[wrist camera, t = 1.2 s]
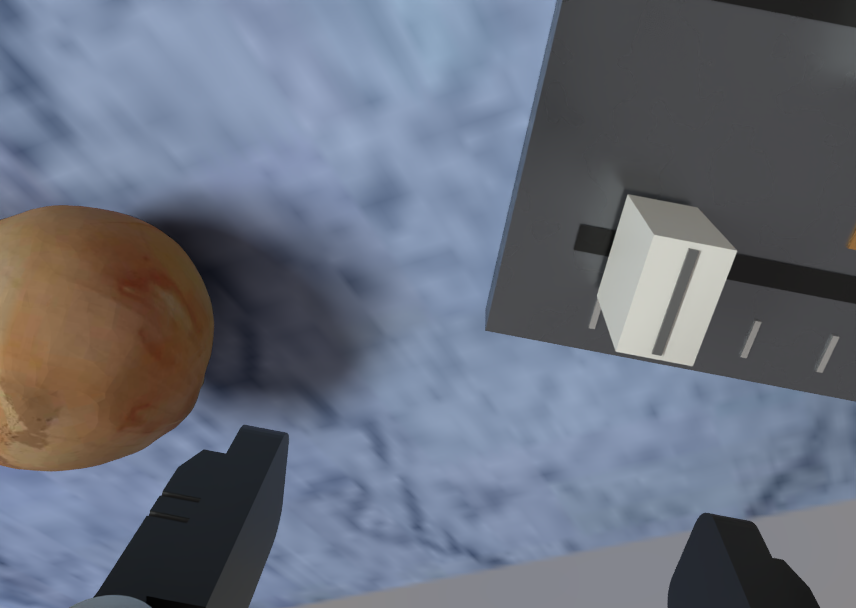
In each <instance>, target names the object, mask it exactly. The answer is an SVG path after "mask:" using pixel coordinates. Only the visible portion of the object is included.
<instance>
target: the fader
mask: <svg viewBox="0 0 856 608" xmlns="http://www.w3.org/2000/svg"><path fill="white" fill-rule="evenodd" d="M736 253H737V250H736V249H735V248H734V247H733V245H732V244H731V243H730V242H729V241H728V240H727V239H726V238H725V237H724V236H723V235H722V233H721V232H720V231H719V230H718V229H717V228H716V227H715V226H714V225H713V224H712V223H711V222H710V220H709V219H708V218H707V217H706V216H705V215H704V214H703V213H702V212H701V211H700V210H699V209H698V207H692V206H687V205H682V204H677V203H672V202H666V201H661V200H656V199H651V198H645V197H640V196H635V195H630V194H628V195H627V198H626V201H625V205H624V208H623V211H622V215H621V218H620V221H619V224H618V228H617V231H616V234H615V238H614V241H613V244H612V248H611V251H610V254H609V257H608V261H607V264H606V267H605V271H604V274H603V277H602V281H601V284H600V287H599V290H598V294H597V298H598V301H599V304H600V307H601V310H602V313H603V316H604V318H605V321H606V324H607V327H608V330H609V333H610V336H611V339H612V342H613V345H614V348H615V351H616V352H620V353H625V354H631V355H636V356H641V357H646V358H652V359H657V360H662V361H667V362H672V363H678V364H683V365H688V366H693V364H694V362H695V359H696V357H697V354H698V351H699V349H700V346H701V344H702V341H703V339H704V336H705V333H706V331H707V328H708V326H709V323H710V320H711V318H712V315H713V313H714V310H715V307H716V305H717V302H718V300H719V297H720V294H721V292H722V289H723V287H724V284H725V282H726V279H727V276H728V274H729V271H730V269H731V266H732V263H733V261H734V258H735V256H736Z"/></svg>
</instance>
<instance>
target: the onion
mask: <svg viewBox="0 0 856 608" xmlns="http://www.w3.org/2000/svg"><path fill="white" fill-rule="evenodd" d="M213 335H214V318H213V310H212V304H211V301H210V297H209V295H208V292H207V289H206V287H205V284H204V282H203V280H202V278H201V276H200V274H199V272H198V271H197V269H196V267H195V265H194V264H193V262H192V261H191V259H190V258H189V256H188V255H187V254H186V252H185V251H184V250H183V249H182V248H181V247H180V245H179V244H177V243H176V242H175V241H174V240H173V239H171V238H170V237H169V236H167V235H166V234H165V233H163V232H162V231H161V230H159V229H157V228H156V227H154V226H152V225H150V224H148V223H146V222H144V221H142V220H140V219H137V218H134V217H132V216H129V215H125V214H122V213H119V212H114V211H109V210H104V209H98V208H90V207H83V206H67V205H58V206H46V207H42V208H37V209H32V210H29V211H26V212H23V213H21V214H18V215H15V216H11V217H8V218H5V219H2V220H0V465H2V466H6V467H10V468H15V469H24V470H35V471H64V470H73V469H81V468H87V467H92V466H97V465H101V464H104V463H107V462H110V461H113V460H116V459H119V458H122V457H125V456H128V455H130V454H133V453H136V452H138V451H140V450H142V449H144V448H146V447H147V446H149V445H150V444H152V443H153V442H154V441H156V440H157V439H158V438H160V437H161V436H163V435H164V434H166V433H168V432H169V431H171V430H172V429H174V428H176V427H177V426H178V425H179V424H180V423H181V422H182V421H183V420H184V419H185V418H186V417H187V416H188V414H189V413H190V412H191V411H192V409H193V408H194V406H195V403H196V401H197V398H198V395H199V391H200V389H201V387H202V385H203V383H204V377H205V372H206V368H207V365H208V362H209V359H210V356H211V351H212V345H213Z"/></svg>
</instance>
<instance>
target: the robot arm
mask: <svg viewBox="0 0 856 608" xmlns="http://www.w3.org/2000/svg"><path fill="white" fill-rule="evenodd" d="M288 444H289V435H288V433H285V432H280V431H275V430H269V429H264V428H259V427H253V426H248V425H243V426H242V427H241V428H240V430H239V432H238V433H237V435H236V437H235V439H234V440H233V442H232V444H231V446H230V448H229V449H228V451H227V453H226V454H225V453H220V452H214V451H209V450H202V451H201V452H200V453H198V454H197V455H195V456H194V457H192V458H191V459H189V460H188V461H187V462H185V463H184V464H182V465H181V466H179V467H178V468H177V470H176V471H175V473H174V474H173V476H172V478H171V479H170V481H169V482H168V484H167V485H166V487H165V488H164V490H163V493H162V496H159V498H158V499H157V501H156V502H155V504H154V505H153V507H152V509H151V510H150V514H149V516H146V518H145V519H144V521H143V522H142V524H141V526H140V527H139V529H138V530H137V532H136V533H135V535H134V536H133V538H132V540H131V541H130V543H129V544H128V546H127V547H126V549H125V550H124V552H123V554H122V555H121V557H120V558H119V560H118V561H117V563H116V564H115V566H114V567H113V569H112V571H111V572H110V574H109V575H108V577H107V578H106V580H105V581H104V583H103V585H102V586H101V588H100V589H99V591H98V592H97V593H96V595H95V596H94V597H93V598H91V599H87V600H84V601H82V602H80V603H77V604H75V605H73V606H71V607H70V608H248V607H249V604H250V602H251V599H252V597H253V594H254V592H255V589H256V586H257V584H258V581H259V579H260V576H261V574H262V571H263V568H264V566H265V563H266V561H267V558H268V555H269V553H270V550H271V548H272V545H273V542H274V539H275V536H276V533H277V529H278V525H279V521H280V516H281V511H282V504H283V494H284V484H285V474H286V464H287V454H288ZM668 608H820V607H819V605H818V603H817V601H816V599H815V597H814V595H813V593H812V591H811V590H810V588H809V587H808V586H807V585H806V583H805V582H804V581H803V580H802V579H801V578H800V577H799V576H798V575H797V574H796V573H795V572H794V571H793V570H792V569H791V568H790V566H789V565H788V564H787V563H786V562H785V561H784V560H781V559H776V558H772V556H771V554H770V552H769V550H768V548H767V546H766V544H765V542H764V540H763V538H762V536H761V534H760V532H759V530H758V528H757V526H756V525H755V524H754V523H753V522H751V521H747V520H742V519H736V518H731V517H726V516H720V515H715V514H710V513H703V514H701V515H700V516H699V518H698V519H697V521H696V523H695V525H694V528H693V530H692V532H691V535H690V537H689V539H688V542H687V544H686V546H685V549H684V551H683V553H682V556H681V558H680V560H679V562H678V565H677V567H676V569H675V572H674V574H673V577H672V579H671V582H670V586H669V591H668Z"/></svg>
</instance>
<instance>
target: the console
mask: <svg viewBox="0 0 856 608" xmlns="http://www.w3.org/2000/svg"><path fill="white" fill-rule="evenodd" d="M628 194H630V195H635V196H640V197H645V198H651V199H656V200H661V201H666V202H672V203H677V204H682V205H687V206H692V207H698V209H699V210H700V211H701V212H702V213H703V214H704V215H705V216H706V217H707V218H708V219H709V220H710V222H711V223H712V224H713V225H714V226H715V227H716V228H717V229H718V230H719V231H720V232H721V233H722V235H723V236H724V237H725V238H726V239H727V240H728V241H729V242H730V243H731V244H732V245H733V247H734V248H735V249H736V250H737V253H736V256H735V258H734V261H733V263H732V266H731V269H730V271H729V274H728V276H727V279H726V282H725V284H724V287H723V289H722V292H721V294H720V297H719V300H718V302H717V305H716V307H715V310H714V313H713V315H712V318H711V320H710V323H709V326H708V328H707V331H706V333H705V336H704V339H703V341H702V344H701V346H700V349H699V351H698V354H697V357H696V359H695V362H694V364H693V366H688V365H683V364H678V363H672V362H667V361H662V360H657V359H652V358H646V357H641V356H636V355H631V354H625V353H620V352H616V351H615V348H614V345H613V342H612V339H611V336H610V333H609V330H608V327H607V324H606V321H605V318H604V316H603V313H602V310H601V307H600V304H599V301H598V298H597V294H598V290H599V287H600V284H601V281H602V277H603V274H604V271H605V267H606V264H607V261H608V257H609V254H610V251H611V248H612V244H613V241H614V238H615V234H616V231H617V228H618V224H619V221H620V218H621V215H622V211H623V208H624V205H625V201H626V198H627V195H628ZM485 331H491V332H496V333H501V334H506V335H512V336H517V337H522V338H527V339H532V340H538V341H543V342H548V343H553V344H559V345H564V346H569V347H574V348H579V349H585V350H590V351H595V352H600V353H605V354H611V355H616V356H621V357H626V358H632V359H637V360H642V361H647V362H652V363H658V364H663V365H668V366H673V367H679V368H684V369H689V370H694V371H699V372H705V373H710V374H715V375H720V376H726V377H731V378H736V379H741V380H746V381H752V382H757V383H762V384H767V385H773V386H778V387H783V388H788V389H793V390H799V391H804V392H809V393H814V394H820V395H825V396H830V397H835V398H840V399H846V400H851V401H856V0H557V2H556V6H555V11H554V15H553V19H552V24H551V28H550V32H549V37H548V41H547V45H546V50H545V54H544V58H543V63H542V67H541V71H540V76H539V80H538V84H537V89H536V93H535V97H534V102H533V106H532V110H531V115H530V119H529V123H528V128H527V132H526V136H525V141H524V145H523V149H522V154H521V158H520V162H519V167H518V171H517V175H516V180H515V184H514V189H513V193H512V197H511V202H510V206H509V210H508V215H507V219H506V223H505V228H504V232H503V236H502V241H501V245H500V249H499V254H498V258H497V262H496V267H495V271H494V275H493V280H492V284H491V288H490V293H489V297H488V301H487V306H486V320H485Z"/></svg>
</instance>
